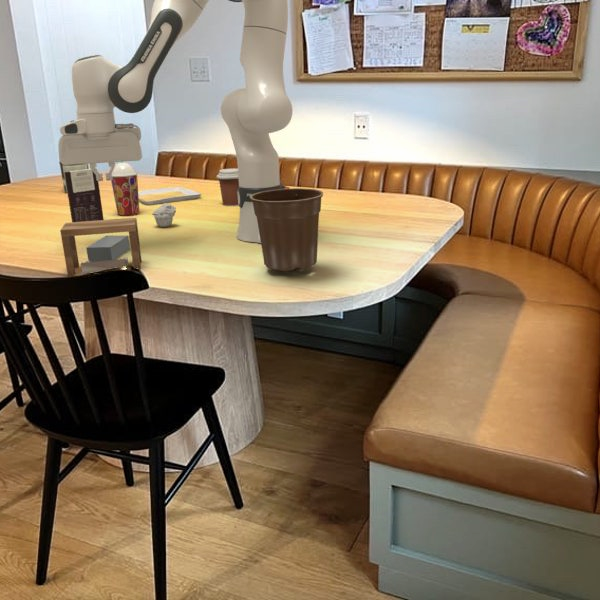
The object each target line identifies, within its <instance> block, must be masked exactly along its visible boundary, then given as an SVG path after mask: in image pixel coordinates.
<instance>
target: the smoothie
mask: <svg viewBox="0 0 600 600" xmlns="http://www.w3.org/2000/svg"><path fill="white" fill-rule="evenodd" d="M112 178H113V180H110V182H111V186H112V191H113V197H114V202H115V207H116V211H117V215H118V216H121V217H132V216H137V215H139V213H140V201H139V198H140V197H139V195H138V191H139V185H138V182H139V181H138V172H136V169H135V168H134V167H133V166H132V165H131V164H130V163H128V162H126V161H124V162H117V164H116V163H115V167H114V170H113V172H112Z"/></svg>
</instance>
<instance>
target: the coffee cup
mask: <svg viewBox="0 0 600 600" xmlns="http://www.w3.org/2000/svg"><path fill="white" fill-rule="evenodd" d="M216 179H218V183H219V188H220V194H221V200H222V201H221V202H222V205H223V206H225V207H239V205H238V193H237V191H238V186H239V177H238V168H224V169H223V168H222V169H220V170H219V173H218V174H217V175H216Z"/></svg>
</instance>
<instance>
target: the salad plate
mask: <svg viewBox="0 0 600 600" xmlns="http://www.w3.org/2000/svg"><path fill="white" fill-rule="evenodd" d="M169 192H179V193H180V194H183V195H178V196H172V197H170V196H169V197H164V198H158V199H154V200H144V199H142V198H140V197H138V198H139V203H143V204H145V205H146V206H152V205H153V206H154V205H160V204H161V205H162V204H165V203H168V204H169V203H174V202H181V201H191V200H196V199H199V198H200V197H201V196H202V193H201V192H198V191H195V190H192V189H189V188H188V189H187V188H185V187H181V186H176V187H175V186H174V187H173V186H172V187H162V188H154V189H153V188H152V189H147V190H146V189H145V190H138V196H147V195H155V194H163V193H169Z"/></svg>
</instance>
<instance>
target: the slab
mask: <svg viewBox="0 0 600 600" xmlns="http://www.w3.org/2000/svg"><path fill="white" fill-rule="evenodd" d="M129 251H131V245H130V238H129V234H127V235H123V234H122V235H105V236H103V237H102V238H100V239H98V240H96V241H95V242H93V243H92V244H90V245H88V246H87V247H86V254H87V261H90V262H96V261H108V260H118V259H119V258H120V257H121V256H123V255H124V254H126V253H127V252H129Z"/></svg>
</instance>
